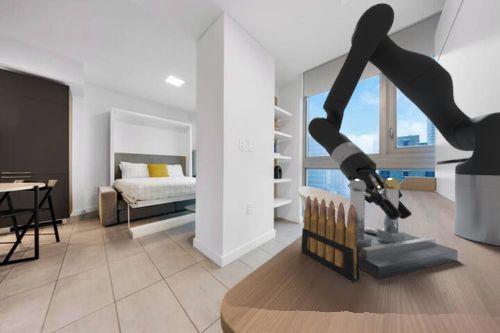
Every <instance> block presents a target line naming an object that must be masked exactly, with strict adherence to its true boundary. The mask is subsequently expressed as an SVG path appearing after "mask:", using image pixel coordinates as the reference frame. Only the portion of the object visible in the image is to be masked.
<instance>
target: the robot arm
mask: <svg viewBox="0 0 500 333" xmlns="http://www.w3.org/2000/svg"><path fill="white" fill-rule="evenodd" d="M394 22H395V10H394V8H393V7H392V6H391V5H390V4H388V3H384V2H381V3H377V4H374V5H372V6H370V7H369V8H367V9H366V10H365V11H364V12H363V13H362V15H361V16H360V17H359V19H358V20H357V22H356V25H355V28H354V30H353V33H352V36H351V40H350V41H351V42H350V43H351V46H350V49H349V51H348V54H347V56H346V58H345V60H344V62H343V65H342V66H341V68H340V70H339V72H338V74H337V77H336V78H335V79H334V81H333V84H332V85H331V88H330V90H329V92H328V94H327V96H326V98H325V100H324V103H323V106H322V109H323V110H324V112H325V113H326V117H324V116H316V117H314V118H312V119H311V120H310V122H309V123H308V127H307V131H308V134H309V135H310V137H311V138H312V139H313V140H314V141H315V142H317V143H318V145H320V147H322V148H324V149H325V152H327V154H328V155H329V156H330V157H331V159H332V161H333V163H335V165H336V166H337V167H338V169H339V170H340V172H341V173H342V174H343V175H344V176H345V178H346V179H347V180H348V181H349V182H351V181H352V180H355V179H360V180H362V181H364V182H365V183H366V186H367V188H366V190H365V202H367V203H368V204H374V205H375V206H379V208H380V209H381V210H382V211H383V213H384V212H385V213H386V215H387V216H388V217H389V218H390V219H391V220H396V219H397V218H400V220H401V219H402V220H404V219H407V218H409V217H411V216H412V212H411V211H410V210H409V209H408V208H407V207H406V206H405V204H404V203H402V201H400V198H402V197H403V193H402V192H401V190H400V189H399V210H398V209H397V208H396V207H395V206H394V205H393V204H392V203H391V202H390V201H389V200H387V197H386V196H385V195H384V187H383V182H384V181H385V180H386V179H384V177H383V176H382V175H380V174H379V173H378V172H377V170H376V169H377V163H376V162H375V161H374V160H372V158H371V157H369V156H368V154H366V153H365V152H364V151H363V149H361V148H360V147H359V146H358V145H356V143H354V142H352V140H351V139H349V138H348V136H346V135H345V134H343V133H341V132H340V130H341V128H342V123H343V120H344V114H345V110H346V109H347V106H348V104H349V103H350V100H351V98H352V96H353V95H354V92H355V90H356V89H357V86H358V84H359V82H360V79H361V77H362V75H363V73H364V70H365V69H366V67H367V65H368V63H370V64H371V65H373V66H375V68H376V69H378V71H380V73H382V74H383V75H384V76H385V77H386V79H388V80H389V82H391V84H393V85H394V86H395V87H396V88H397V90H399V91H400V92H401V93H402V95H404V96H405V97H406V98H407V99H408V100H409V101H411V102H412V103H413V104H414V105H415V106H416V107H417V108H418V109H419V110H420V112H422V114H423V115H425V117H426V118H428V120H429V121H430V122H431V124H433V126H434V127H435V128H436V129H437V130H438V132H439V133H440V135H441V137H442V138H444V139H445V141H446V142H447V143H448V144H449V145H450V146H452V148H454V149H456V150H457V151H462V152H472V154H471V156H470V157H469V158H468V159H466V160H465V161H463V162H460V163H458V164H456V165H455V169H454V173H455V174H454V227H453V228H454V234H455V235H456V236H458V237H461V238H464V239H467V240H470V241H474V242H478V243H481V244H488V245H493V246H500V112H492V113H487V114H483V115H479V116H476V117H472V118H471V117H470V116H468V115H467V114H466V113H465V112H463V110H461V108H459V106H458V105H457V103H456V102H455V95H454V93H455V92H454V81H453V78H452V75H451V73H450V72H449V71H448V70H446V68H444V67H443V66H442V65H441V64H440V63H439V62H437V61H436V59H434V58H433V57H431V56H429V55H426V54H423V53H419V52H415V51H413V50H412V51H411V50H408V49H405V48H402V47H401V46H399V45H398V44H397V43H396V42H394V40H393V39H391V37H390V36H389V35H388V34H389V32H390V30H391V29H392V27H393V25H394ZM347 186H348V188H349V184H348V185H347Z"/></svg>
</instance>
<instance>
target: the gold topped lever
mask: <svg viewBox="0 0 500 333" xmlns="http://www.w3.org/2000/svg"><path fill="white" fill-rule="evenodd" d="M383 187H384V189H383V190H384V195H385V196H386V197H387V200H389V201H390V202H391V203H392V204H393V205H394V206H395V207H396V208H397V209H398V210H399V201H400V199H399V190H400V188H401V182H400V181H399V180H398V179H397V178H394V177H389V178H386V179H385V181H384V182H383ZM399 218H400V217H399ZM399 218H397V219H396V220H391V219H390V218H389V217H388V216H387V215H386V213H385V212H384V211H383V227H382V228H376V229H377V230H374V229H375V228H371V227H368V226H366V227H365V230H368V231H371V232H373V233H376V234H377V238H380V239H382V240H385V241H387V242H390V243H396V242H402V241H405V234H406V232H405V231H403V230H399Z"/></svg>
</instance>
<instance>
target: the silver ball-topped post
mask: <svg viewBox="0 0 500 333" xmlns="http://www.w3.org/2000/svg"><path fill="white" fill-rule="evenodd" d="M348 185H349V187H348V188H349V190H350V191H349V192H350V196H349V197H350V198H349V207H350V206H351V204H352V205H353V206H354V209H355V214H356V229H357V247H358V251H360V250H362V248H364V247H370V246H371V238H368V237H366V236H364V230H365V215H366V214H365V211H366V210H365V208H366V206H365V205H366V200H365V195H366V194H365V190H366V188H367V186H366V183H365V182H364V181H362V180H360V179H355V180H352V181H349V184H348Z"/></svg>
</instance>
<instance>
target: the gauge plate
mask: <svg viewBox="0 0 500 333" xmlns="http://www.w3.org/2000/svg"><path fill="white" fill-rule="evenodd" d="M373 229H374V230H377V229H378V228H373ZM364 236H366V237H368V238H371V246H370V247H364V248H362V250H360V251H359V269H362V270H363V271H364V272H366V273H367V274H369V275H371V276H372V277H375V278H376V279H378V280H383V279H386V278H387V279H388V278H391V277H394V276H398V275H399V276H400V275H403V274H407V273H411V272H415V271H420V270H423V269H428V268H432V267H435V266H440V265H444V264H449V263H452V262H455V261H458V250H457V249H454V248H451V247H448V246H445V245H444V244H443V245H442V244H438V243H436V238H433V237H430V236H429V237H422V238H421V237H418V236H414V235H411V234H408V233H405V241H402V242H396V243H390V242H387V241H385V240H382V239H380V238H377V234H376V233H373V232H371V231H368V230H366V229H364Z"/></svg>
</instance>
